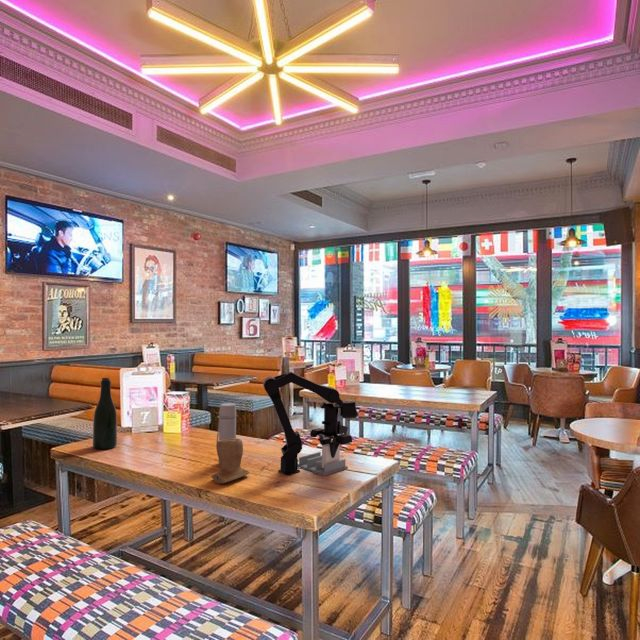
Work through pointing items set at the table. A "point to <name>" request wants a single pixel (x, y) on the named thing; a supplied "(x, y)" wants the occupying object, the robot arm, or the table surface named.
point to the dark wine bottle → (105, 419)
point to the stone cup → (229, 460)
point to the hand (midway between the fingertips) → (330, 457)
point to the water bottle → (227, 422)
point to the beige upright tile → (329, 455)
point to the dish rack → (320, 464)
